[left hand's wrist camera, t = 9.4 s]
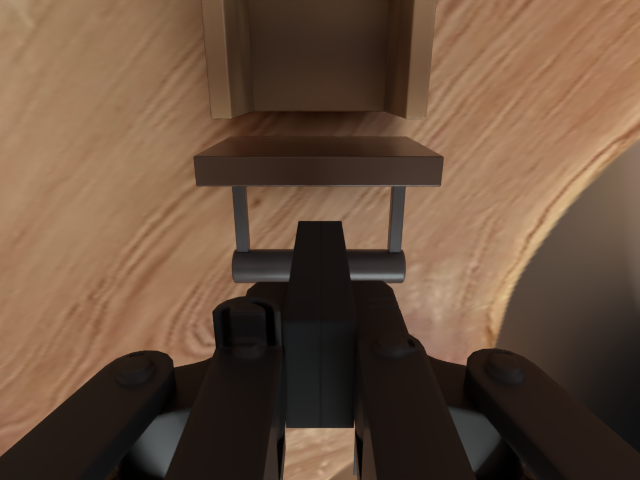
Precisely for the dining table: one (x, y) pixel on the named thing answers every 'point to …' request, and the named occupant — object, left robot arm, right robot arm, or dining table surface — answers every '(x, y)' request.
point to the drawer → (318, 109)
